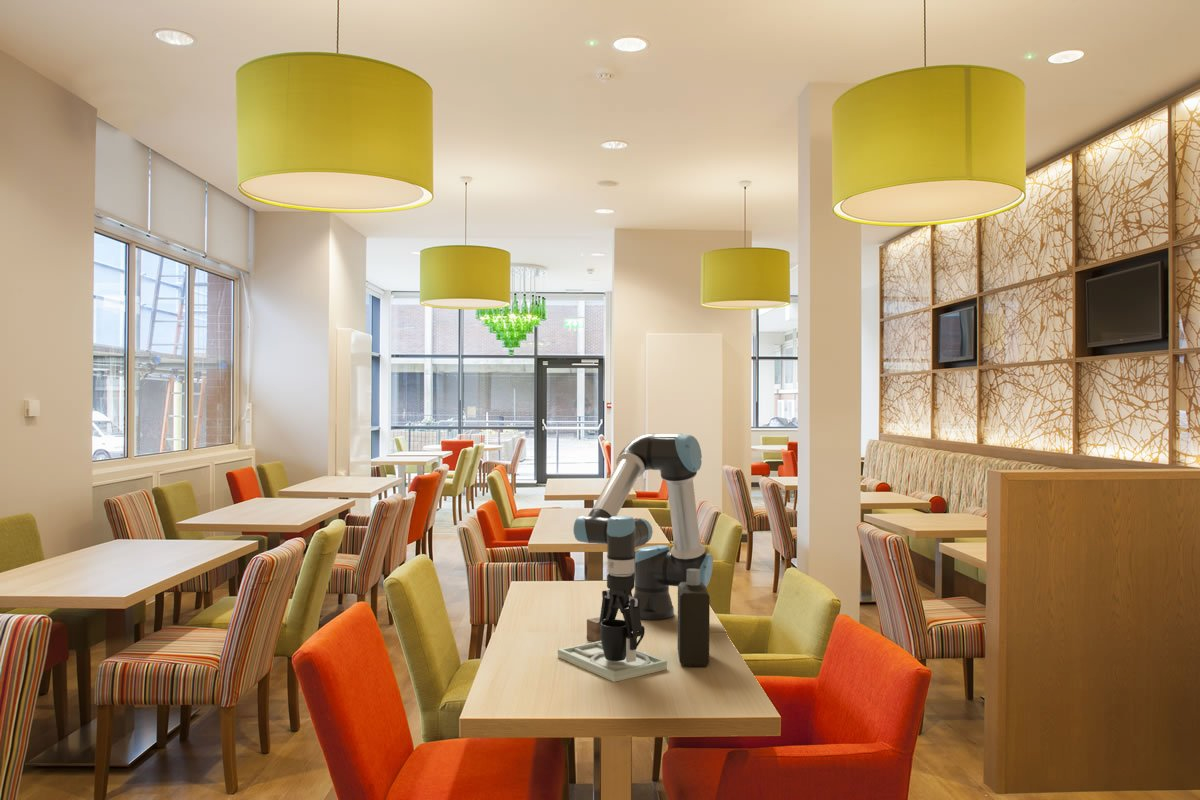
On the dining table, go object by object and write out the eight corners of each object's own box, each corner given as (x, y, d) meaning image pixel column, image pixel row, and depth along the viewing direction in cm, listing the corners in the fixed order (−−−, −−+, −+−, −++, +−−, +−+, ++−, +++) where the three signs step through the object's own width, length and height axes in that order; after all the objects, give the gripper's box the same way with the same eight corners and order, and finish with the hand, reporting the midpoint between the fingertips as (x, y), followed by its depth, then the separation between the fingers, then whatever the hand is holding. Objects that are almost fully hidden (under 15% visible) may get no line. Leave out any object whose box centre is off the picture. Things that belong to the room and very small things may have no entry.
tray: (608, 646, 243) (608, 639, 243) (666, 669, 222) (667, 661, 222) (557, 657, 232) (557, 649, 232) (614, 682, 211) (614, 673, 211)
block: (599, 636, 254) (600, 617, 254) (609, 640, 250) (609, 620, 250) (586, 639, 251) (586, 619, 251) (596, 642, 247) (596, 622, 247)
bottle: (680, 667, 224) (680, 575, 224) (677, 650, 240) (677, 564, 240) (709, 668, 223) (710, 575, 223) (704, 650, 239) (705, 564, 239)
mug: (643, 663, 218) (643, 627, 219) (598, 662, 220) (598, 626, 220) (645, 654, 227) (645, 619, 227) (601, 653, 228) (601, 618, 228)
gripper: (586, 568, 230) (586, 649, 230) (634, 582, 213) (634, 669, 213) (608, 566, 235) (607, 645, 235) (656, 578, 218) (656, 664, 217)
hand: (620, 656), depth 224 cm, fingers closed on mug, 9 cm apart
